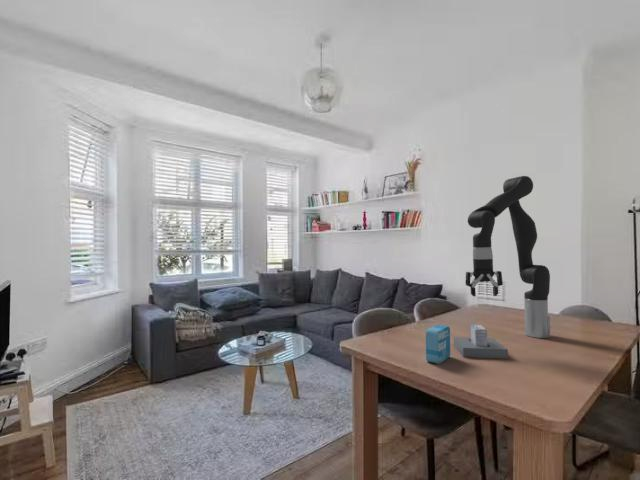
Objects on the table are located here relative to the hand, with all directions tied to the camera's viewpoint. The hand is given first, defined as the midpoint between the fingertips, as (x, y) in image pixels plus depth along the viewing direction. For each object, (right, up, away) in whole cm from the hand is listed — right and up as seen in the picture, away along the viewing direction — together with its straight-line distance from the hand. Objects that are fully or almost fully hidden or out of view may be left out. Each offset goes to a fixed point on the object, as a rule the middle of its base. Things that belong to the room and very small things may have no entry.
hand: (484, 295), depth 142 cm
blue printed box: (-25, -22, -16) cm, 37 cm away
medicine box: (-6, -20, -7) cm, 22 cm away
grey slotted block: (-6, -21, -8) cm, 23 cm away
